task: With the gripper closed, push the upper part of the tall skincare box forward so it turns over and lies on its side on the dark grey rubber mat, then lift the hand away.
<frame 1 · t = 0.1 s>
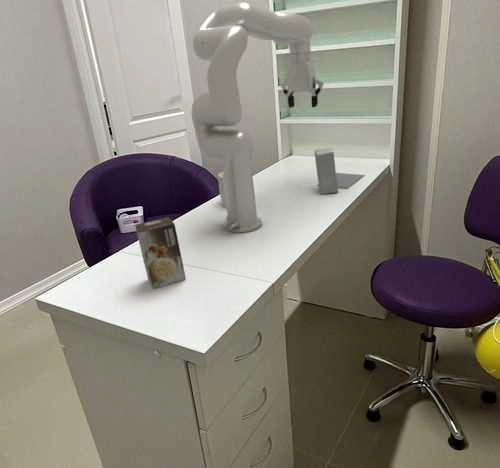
hand: (302, 106, 162), 31 cm above the table, tool pointing down, fingers open, 9 cm apart
toilet paper roll: (236, 203, 164), on the table
coffee box: (166, 280, 113), on the table
skincare box: (327, 190, 165), on the table, touching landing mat
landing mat: (340, 180, 175), on the table
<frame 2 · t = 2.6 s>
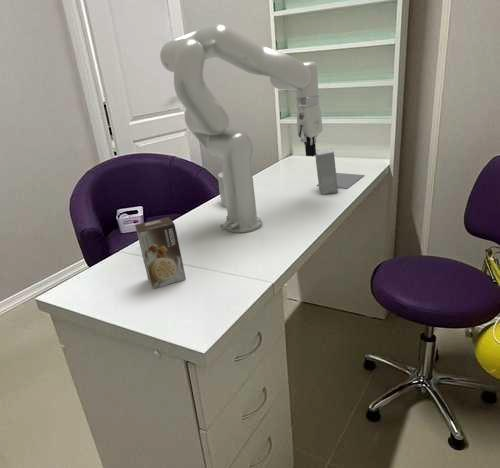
hand: (310, 155, 149), 17 cm above the table, tool pointing down, fingers closed
nothing on the table moved.
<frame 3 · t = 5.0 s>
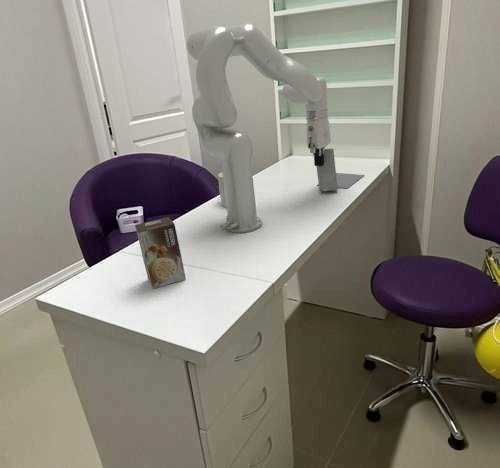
hand: (319, 165, 156), 12 cm above the table, tool pointing down, fingers closed
skincare box: (327, 189, 165), point 1 cm above the table, touching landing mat
everything else where it was.
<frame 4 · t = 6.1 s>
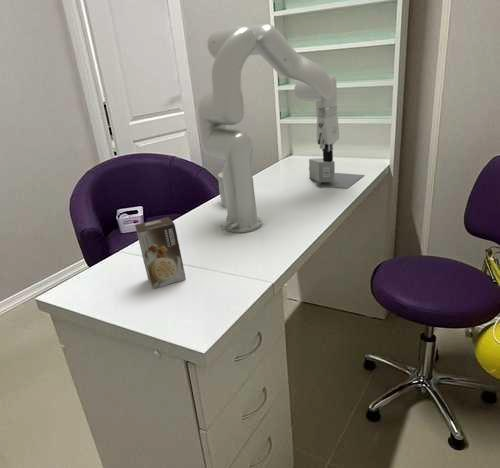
hand: (328, 161, 162), 11 cm above the table, tool pointing down, fingers closed
skincare box: (326, 172, 167), point 6 cm above the table
everything else where it was.
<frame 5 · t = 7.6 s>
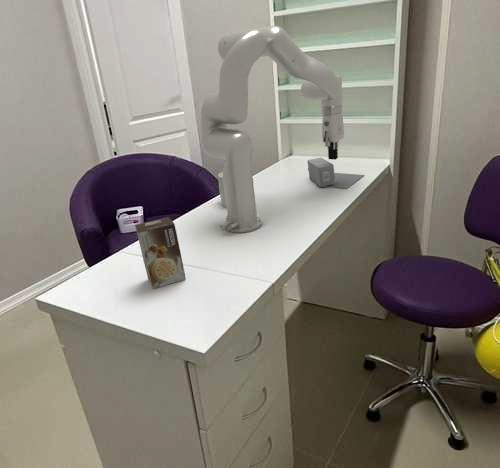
hand: (333, 158, 165), 11 cm above the table, tool pointing down, fingers closed
skincare box: (326, 176, 167), point 4 cm above the table, touching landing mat
everything else where it was.
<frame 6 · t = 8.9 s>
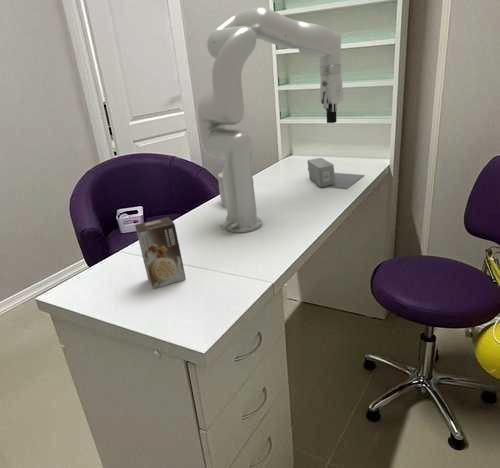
hand: (331, 122, 159), 25 cm above the table, tool pointing down, fingers closed
nothing on the table moved.
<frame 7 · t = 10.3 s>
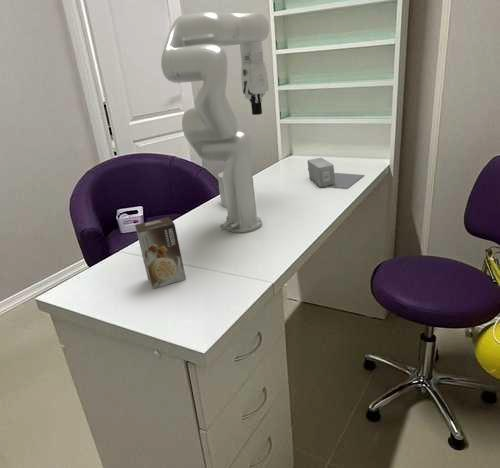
hand: (257, 114, 151), 32 cm above the table, tool pointing down, fingers closed
nothing on the table moved.
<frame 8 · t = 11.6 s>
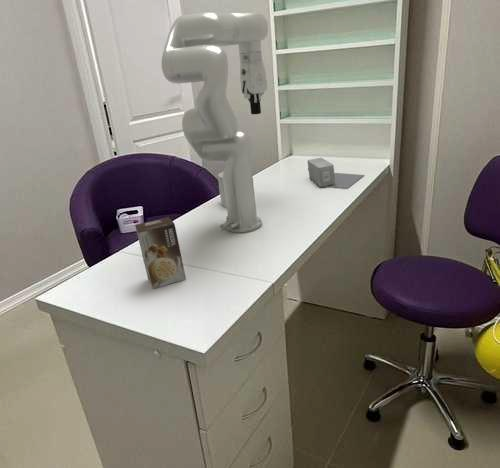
hand: (256, 113, 151), 32 cm above the table, tool pointing down, fingers closed
nothing on the table moved.
at the end: skincare box tilted 90°; skincare box inside the target area (6.6 cm from its centre), point 4.4 cm above the table; skincare box touching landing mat, table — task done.
